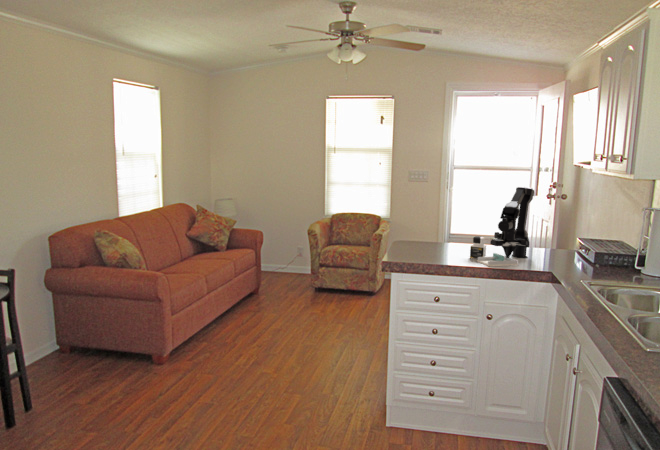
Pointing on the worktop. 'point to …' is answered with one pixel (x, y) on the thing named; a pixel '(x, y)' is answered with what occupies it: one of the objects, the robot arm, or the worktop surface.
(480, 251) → the medicine bottle
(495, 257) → the pusher
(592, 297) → the worktop surface
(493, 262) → the lane
